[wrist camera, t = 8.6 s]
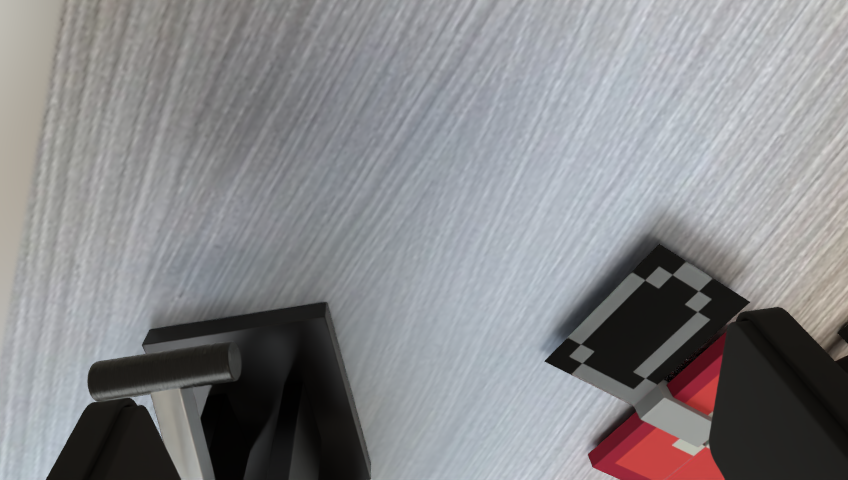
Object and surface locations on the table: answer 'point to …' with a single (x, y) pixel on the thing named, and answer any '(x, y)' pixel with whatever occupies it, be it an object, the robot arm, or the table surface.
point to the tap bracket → (276, 398)
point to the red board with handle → (657, 367)
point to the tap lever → (171, 394)
